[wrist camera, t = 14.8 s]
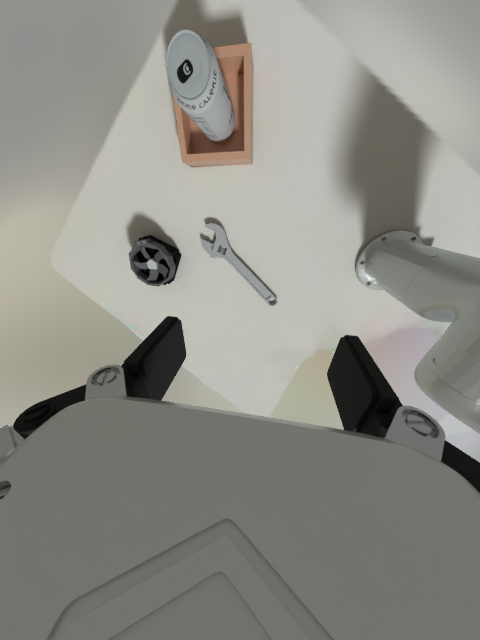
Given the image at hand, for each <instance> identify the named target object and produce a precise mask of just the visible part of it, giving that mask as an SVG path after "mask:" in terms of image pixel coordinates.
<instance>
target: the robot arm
mask: <svg viewBox="0 0 480 640" xmlns="http://www.w3.org/2000/svg"><path fill="white" fill-rule="evenodd" d="M382 238H383V239H382ZM361 261H362V262H361ZM360 262H361V263H360ZM356 275H357V278H358V279H359V281H360V282H361V283H362V284H363V285H365V286H366V287H368V288H370V289H374V290H385V291H386V292H387V293H389V294H390V295H391V296H393V297H394V298H396V299H397V300H398V301H400V302H401V303H402V304H404V305H405V306H407V307H408V308H409V309H411V310H412V311H414V312H415V313H416V314H418V315H420V316H421V317H424V318H426V319H429V320H433V321H439V322H452V324H451V325H450V326H449V327H448V329H447V330H446V331H445V333H444V334H443V335H442V336H441V338H440V339H439V340H438V341H437V342H436V343H435V344H434V346H433V347H432V348H431V349H430V350H429V352H427V354H426V355H425V356H424V357H423V359H422V360H421V361H420V362H419V364H418V365H417V367H416V369H415V373H414V375H415V376H414V377H415V381H416V383H417V385H418V386H419V388H420V389H421V390H422V391H423V392H424V393H425V394H426V395H427V396H428V397H429V398H430V399H431V400H432V401H434V402H435V403H436V404H437V405H439V406H440V407H442V408H443V409H444V410H445V411H447V412H448V413H450V414H451V415H453V416H454V417H455V418H457V419H458V420H460V421H461V422H463V423H464V424H466V425H467V426H469V427H470V428H472V429H473V430H475V431H476V432H478V433H479V434H480V258H476V257H472V256H468V255H463V254H459V253H455V252H451V251H447V250H443V249H439V248H435V247H431V246H427V245H424V244H423V242H422V240H421V239H420V238H419V237H418V236H417V235H416V234H414V233H412V232H409V231H403V230H396V231H391V232H387V233H384V234H382V235H380V236H378V237H376V238H375V239H374V240H372V241H371V242H370V243H369V244H368V245H367V246H366V247H365V248H364V249H363V251H362V252H361V254H360V255H359V257H358V260H357V263H356ZM367 282H368V283H367ZM185 358H186V349H185V343H184V336H183V330H182V324H181V320H179V319H178V318H177V317H170V316H168V317H166V318H165V319H164V320H163V321H162V322H161V323H160V324H159V326H158V327H157V328H156V329H155V330H154V331H153V332H152V333H151V334H150V335H149V336H148V337H147V338H146V339H145V340H144V341H143V342H142V343H141V344H140V345H139V346H138V347H137V348H136V349H135V350H134V352H133V353H132V354H131V355H130V356H129V357H128V358H127V359H126V360H125V361H124V364H123V365H122V366H119V365H108V366H104V367H102V368H100V369H98V370H96V371H95V372H94V373H92V374H91V375H90V376H89V378H88V380H87V384H86V385H83V386H81V387H78V388H76V389H73V390H70V391H68V392H65V393H63V394H60V395H57V396H55V397H52V398H49V399H47V400H44V401H41V402H39V403H37V404H35V405H33V406H31V407H30V408H28V409H27V410H25V411H24V412H23V413H22V414H20V416H19V417H18V418H17V419H16V421H15V423H14V425H13V426H11V427H9V426H8V425H6V426H4V427H3V428H0V640H480V463H479V462H478V461H476V460H475V459H473V458H471V457H470V456H469V455H467V454H466V453H464V452H462V451H461V450H459V449H458V448H456V447H455V446H453V445H452V444H450V443H449V442H447V441H445V433H444V431H443V429H442V427H441V426H440V425H439V424H438V422H437V421H436V420H435V419H433V418H432V417H431V416H430V415H428V414H427V413H425V412H423V411H421V410H419V409H417V408H414V407H411V406H403V405H402V404H401V402H400V401H399V398H398V397H397V395H396V394H395V392H394V391H393V389H392V388H391V386H390V385H389V383H388V382H387V380H386V379H385V377H384V376H383V374H382V372H381V371H380V369H379V368H378V366H377V365H376V363H375V362H374V360H373V359H372V357H371V356H370V354H369V353H368V351H367V350H366V348H365V346H364V345H363V343H362V342H361V340H360V339H359V337H358V336H350V335H345V336H344V337H341V338H340V341H339V343H338V346H337V349H336V351H335V354H334V356H333V359H332V362H331V364H330V367H329V369H328V373H327V376H328V380H329V383H330V387H331V390H332V392H333V396H334V399H335V402H336V405H337V408H338V412H339V414H340V418H341V421H342V424H343V427H344V430H340V429H335V428H330V427H323V426H318V425H312V424H306V423H300V422H293V421H287V420H281V419H275V418H269V417H263V416H257V415H250V414H244V413H237V412H231V411H225V410H218V409H213V408H206V407H200V406H193V405H187V404H180V403H174V402H167V401H161V400H162V398H163V396H164V395H165V393H166V391H167V389H168V388H169V386H170V384H171V382H172V381H173V379H174V377H175V376H176V374H177V372H178V370H179V369H180V367H181V365H182V363H183V362H184V360H185Z"/></svg>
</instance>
